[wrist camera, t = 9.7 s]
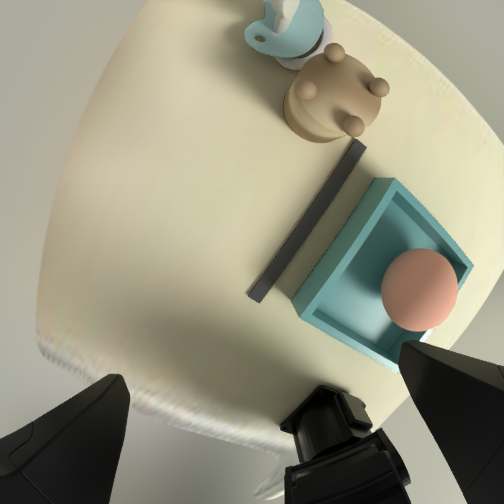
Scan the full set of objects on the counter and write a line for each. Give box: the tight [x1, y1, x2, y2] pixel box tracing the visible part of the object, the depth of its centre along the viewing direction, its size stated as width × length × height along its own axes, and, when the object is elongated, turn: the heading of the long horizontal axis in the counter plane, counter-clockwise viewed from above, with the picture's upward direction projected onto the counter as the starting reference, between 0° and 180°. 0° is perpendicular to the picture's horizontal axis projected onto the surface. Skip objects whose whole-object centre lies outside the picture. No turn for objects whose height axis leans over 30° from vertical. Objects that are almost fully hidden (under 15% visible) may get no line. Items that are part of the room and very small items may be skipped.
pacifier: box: [244, 0, 333, 70], centre depth 14 cm, size 7×6×6 cm
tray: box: [291, 178, 474, 373], centre depth 20 cm, size 11×11×3 cm
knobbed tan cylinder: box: [283, 43, 390, 143], centre depth 15 cm, size 5×5×6 cm
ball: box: [381, 248, 458, 331], centre depth 18 cm, size 6×6×6 cm
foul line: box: [248, 139, 367, 303], centre depth 20 cm, size 14×1×1 cm, turn 146°
